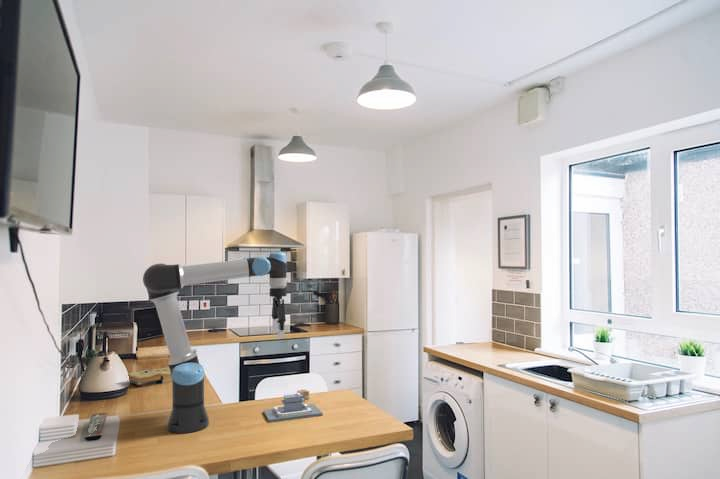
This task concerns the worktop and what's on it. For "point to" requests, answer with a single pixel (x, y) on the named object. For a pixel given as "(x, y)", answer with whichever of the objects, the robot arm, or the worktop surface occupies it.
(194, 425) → the robot arm
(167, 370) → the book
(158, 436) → the worktop surface
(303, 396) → the oak block
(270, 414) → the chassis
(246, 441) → the worktop surface
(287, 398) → the servo block
